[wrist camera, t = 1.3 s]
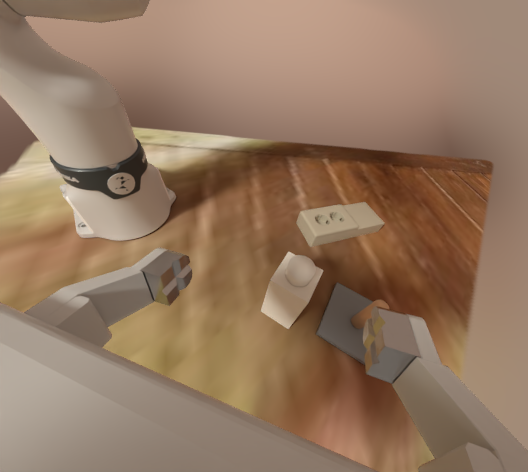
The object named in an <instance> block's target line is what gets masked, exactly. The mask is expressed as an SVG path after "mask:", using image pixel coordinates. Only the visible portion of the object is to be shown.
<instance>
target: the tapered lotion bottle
mask: <svg viewBox="0 0 528 472" xmlns="http://www.w3.org/2000/svg"><path fill="white" fill-rule="evenodd" d="M322 273H323V270H322V269H320V268H318V267H316V266H315V264H314V263H313V261H312V260H311V259H309V258H308V257H306V256H303V255H294V254H292V253H291V252H288V253H287V255H286V257H285V258H284V260H283V261H282V263H281V264H280V266H279V267H278V269H277V270H276V272H275V274H274V275H273V277H272V278H271V280H270V283H269V286H268V289H267V293H266V296H265V299H264V302H263V306H262V309H261V312H263V313H264V314H266V315H267V316H269V317H270V318H272V319H273V320H275V321H276V322H278V323H280V324H281V325H283V326H284V327H286V328H287V329H289V328H290V326H291V325H292V324H293V322H294V321H295V320H296V319H297V317H298V316H299V315H300V313H301V312H302V311H303V309H304V308H305V307H306V306H307V304H308V303H309V301H310V299H311V297H312V294H313V292H314V290H315V288H316V286H317V283H318V281H319V279H320V277H321V275H322Z"/></svg>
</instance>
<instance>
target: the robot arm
mask: <svg viewBox="0 0 528 472" xmlns="http://www.w3.org/2000/svg"><path fill="white" fill-rule="evenodd" d="M149 1H150V0H0V95H1V96H2V97H3V98H4V99H5V101H6V102H7V103H8V104H9V105H10V106H11V107H12V108H13V110H14V111H15V112H16V113H17V114H18V115H19V116H20V117H21V119H22V120H23V121H24V122H25V123H26V125H27V126H28V127H29V128H30V129H31V131H32V132H33V133H34V134H35V136H36V137H37V138H38V139H39V141H40V142H41V143H42V144H43V146H44V147H45V148H46V150H47V151H48V152H49V154H50V160H51V162H52V163H53V165H54V168H55V169H56V171H57V172H58V173H59V174H60V175H61V176H62V177H63V179H64V180H65V181H66V182H67V184H64V185H61V186H60V189H61V191H62V193H63V196H64V198H65V200H66V201H67V202H68V203H69V204H70V205H71V207H72V208H73V210H74V217H75V224H76V230H77V233H78V234H79V236H80V237H83V238H92V237H101V238H106V239H110V240H131V239H135V238H139V237H142V236H145V235H147V234H149V233H151V232H153V231H155V230H156V229H158V228H159V227H160V226H161V225H162V224H163V223H164V222H165V221H166V219H167V218H168V216H169V213H170V207H171V204H172V203H173V202H174V201H175V199H176V195H175V193H174V192H173V191H172V190H170V189H168V188H167V187H165V184H164V182H163V179H162V177H161V174H160V172H159V170H158V168H157V167H154V166H153V165H152V164H149V163H148V162H147V159H146V155H145V152H144V149H143V148H142V146H141V144H140V142H139V141H138V139H136V138H135V135H134V133H133V130H132V127H131V125H130V122H129V120H128V117H127V114H126V111H125V109H124V106H123V103H122V101H121V98H120V96H119V94H118V92H117V91H116V89H115V88H114V87H113V86H112V84H111V83H110V82H109V81H108V80H107V79H105V78H104V77H103V76H102V75H100V74H99V73H98V72H96V71H95V70H93V69H91V68H90V67H87V66H86V65H83V64H81V63H79V62H77V61H75V60H72V59H70V58H68V57H66V56H64V55H62V54H61V53H59V52H57V51H56V50H55V49H53V48H52V47H51V46H49V45H48V44H47V43H46V42H45V41H44V40H43V39H42V38H41V37H40V36H39V35H38V34H37V33H36V32H35V31H34V30H33V29H32V27H31V26H30V25H29V24H28V22H27V21H26V19H25V18H24V17H26V16H34V17H45V18H56V19H66V20H77V21H88V22H99V23H102V22H110V21H117V20H123V19H128V18H133V17H138V16H142V15H143V14H144V12H145V10H146V8H147V6H148V4H149ZM189 263H190V260H189V256H187V255H184V254H181V253H177V252H174V251H171V250H167V249H163V248H156V249H155V250H154V251H152V252H151V253H150V254H148V255H147V256H146V257H144V258H143V259H141V260H140V261H139V262H137V263H136V264H135V265H133V266H132V267H131V268H129V267H126V268H123V269H120V270H117V271H114V272H110V273H107V274H104V275H101V276H98V277H95V278H91V279H88V280H85V281H82V282H79V283H76V284H72V285H69V286H66V287H63V288H62V289H60V290H58V291H57V292H55V293H54V294H52V295H51V296H49V297H47V298H46V299H44V300H43V301H41V302H40V303H38V304H36V305H35V306H33V307H32V308H30V309H29V310H27V311H26V312H24V313H23V312H21V311H19V310H16V309H14V308H12V307H10V306H7V305H5V304H3V303H1V302H0V472H378V471H376V470H373V469H371V468H369V467H367V466H365V465H362V464H360V463H358V462H356V461H353V460H351V459H349V458H347V457H344V456H342V455H340V454H338V453H336V452H333V451H331V450H329V449H327V448H324V447H322V446H320V445H318V444H315V443H313V442H311V441H309V440H306V439H304V438H302V437H300V436H298V435H295V434H293V433H291V432H289V431H286V430H284V429H282V428H280V427H277V426H275V425H273V424H271V423H269V422H266V421H264V420H262V419H260V418H257V417H255V416H253V415H251V414H248V413H246V412H244V411H242V410H240V409H237V408H235V407H233V406H231V405H228V404H226V403H224V402H222V401H219V400H217V399H215V398H213V397H211V396H208V395H206V394H204V393H202V392H199V391H197V390H195V389H193V388H190V387H188V386H186V385H184V384H182V383H179V382H177V381H175V380H173V379H170V378H168V377H166V376H164V375H161V374H159V373H157V372H155V371H153V370H150V369H148V368H146V367H144V366H141V365H139V364H137V363H135V362H132V361H130V360H128V359H126V358H124V357H121V356H119V355H117V354H115V353H112V352H110V351H108V350H106V349H103V348H102V347H103V346H104V345H105V344H106V343H107V342H108V341H109V340H110V339H111V337H112V334H111V332H110V331H109V329H108V328H107V327H109V326H110V325H112V324H114V323H116V322H118V321H120V320H121V319H123V318H125V317H127V316H129V315H131V314H133V313H134V312H136V311H138V310H140V309H142V308H144V307H145V306H147V305H149V304H151V303H153V302H154V301H155V302H159V303H162V304H165V305H168V306H170V305H171V304H172V303H173V301H174V300H175V299H176V298H177V297H178V296H179V291H180V290H182V289H184V288H186V287H187V285H188V284H189V283H190V280H191V278H192V269H191V268H190V267H189V265H188V264H189ZM371 316H372V318H370V319H367V321H366V323H365V326H364V330H363V344H364V345H365V347H366V348H367V352H366V353H365V355H364V357H365V368H366V374H367V375H370V376H373V377H375V378H378V379H381V380H383V381H386V382H389V383H391V384H392V386H393V388H394V389H395V391H396V393H397V395H398V396H399V398H400V400H401V401H402V403H403V405H404V407H405V408H406V410H407V412H408V413H409V415H410V417H411V418H412V420H413V422H414V424H415V425H416V427H417V429H418V430H419V432H420V434H421V436H422V437H423V439H424V441H425V442H426V444H427V446H428V447H429V449H430V451H431V453H432V454H433V456H434V458H435V459H433V460H431V461H429V462H427V463H425V464H423V465H421V466H420V467H419V468H418V471H419V472H528V451H527V450H526V448H524V446H523V445H522V444H521V443H520V442H519V441H518V440H517V439H516V438H515V437H514V436H513V435H512V434H511V433H510V432H509V431H508V430H507V428H506V427H505V426H504V425H503V424H502V423H501V422H500V421H499V420H498V419H497V418H496V417H495V416H494V415H493V414H492V413H491V412H490V411H489V410H488V409H487V408H486V406H485V405H484V404H483V403H482V402H481V401H480V400H479V399H478V398H477V397H476V396H475V395H474V394H473V393H472V392H471V391H470V390H469V389H468V388H467V386H466V385H465V384H464V383H463V382H462V381H461V380H460V379H459V378H458V377H457V376H456V375H455V374H454V373H453V372H452V371H451V370H450V369H449V367H448V366H445V365H442V363H441V361H440V358H439V356H438V353H437V351H436V348H435V345H434V343H433V340H432V338H431V335H430V333H429V330H428V328H427V325H426V323H425V320H424V319H423V318H421V317H417V316H413V315H409V314H404V313H401V312H397V311H394V310H390V309H386V308H382V307H378V306H375V307H374V308H373V309H372V311H371Z"/></svg>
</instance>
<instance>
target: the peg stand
mask: <svg viewBox="0 0 528 472" xmlns="http://www.w3.org/2000/svg"><path fill="white" fill-rule="evenodd" d="M375 306H378V307H382V308H386V309H389V306H388V304H387V303H386V302H385V301H383V300H376V301H374V302H372V301H370V300H369V299H367V298H365V297H363V296H361V295H360V294H358V293H356V292H354V291H352V290H350V289H349V288H347V287H345V286H343V285H341V284H339V283H338V282H337V283H336V284H335V287H334V289H333V292H332V294H331V297H330V299H329V302H328V304H327V307H326V309H325V312H324V315H323V317H322V320H321V322H320V325H319V327H318V330H317V332H316V335H318V336H320V337H321V338H323V339H324V340H326V341H327V342H329V343H331V344H332V345H334V346H335V347H337V348H339V349H340V350H342V351H343V352H345V353H346V354H348V355H350V356H351V357H353V358H354V359H356V360H358V361H359V362H361V363H362V364H364V365H365V357H364V355H365V353H366V352H367V348H366V347H365V345H364V344H363V330H364V326H365V323H366V321H367V319H370V318H372V316H371V311H372V309H373V308H374V307H375Z"/></svg>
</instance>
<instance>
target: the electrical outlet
mask: <svg viewBox="0 0 528 472" xmlns="http://www.w3.org/2000/svg"><path fill="white" fill-rule="evenodd" d="M296 223H297V225H298V227H299V228H300V230H301V232H302V234H303V235H304V237H305V239H306V241H307V242H308V244H309V246H310V247H313V246H317V245H322V244H326V243H330V242H335V241H339V240H343V239H347V238H352V237H356V236H360V235H365V234H369V233H373V232H377V231H379V230H380V228H381V227H382V226H383V225H384V224H385V223H384V222H383V221H382V220H381V219H380V218H379V217H378V215H377V214H376V213H375V212H374V211H373V210H372V209H371V208H370V207H369V206H368V204H367V203H366V202H362V203H356V204H350V205H344V206H343V205H341V204H339V205H334V206H328V207H322V208H316V209H310V210H304V211H301V212H300V214H299V217H298V219H297V222H296Z"/></svg>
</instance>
